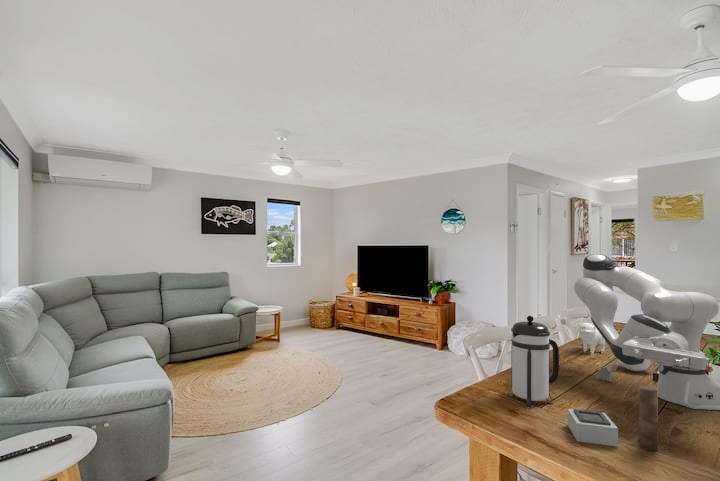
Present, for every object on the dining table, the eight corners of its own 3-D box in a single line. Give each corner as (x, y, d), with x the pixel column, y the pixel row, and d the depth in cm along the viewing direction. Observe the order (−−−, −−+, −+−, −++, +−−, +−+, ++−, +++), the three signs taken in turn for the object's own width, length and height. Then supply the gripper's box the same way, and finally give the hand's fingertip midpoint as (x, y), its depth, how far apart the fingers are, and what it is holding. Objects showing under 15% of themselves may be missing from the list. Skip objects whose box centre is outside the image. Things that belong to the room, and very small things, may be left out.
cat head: (648, 378, 158) (648, 349, 158) (612, 370, 167) (612, 343, 168) (656, 371, 167) (656, 343, 168) (622, 364, 177) (622, 338, 178)
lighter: (598, 379, 156) (598, 360, 156) (598, 378, 157) (598, 359, 157) (619, 383, 152) (619, 363, 152) (619, 381, 153) (619, 362, 153)
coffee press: (555, 412, 123) (555, 321, 124) (504, 401, 132) (504, 316, 132) (559, 395, 138) (559, 314, 138) (513, 386, 146) (513, 310, 147)
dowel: (653, 445, 103) (653, 386, 104) (661, 452, 100) (660, 392, 100) (637, 442, 104) (636, 385, 105) (643, 450, 101) (643, 390, 101)
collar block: (604, 429, 112) (604, 410, 112) (618, 446, 102) (617, 426, 102) (567, 425, 115) (567, 406, 115) (577, 441, 105) (577, 421, 105)
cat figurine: (586, 346, 209) (586, 316, 210) (608, 350, 202) (608, 319, 202) (573, 355, 192) (573, 322, 192) (596, 359, 184) (596, 325, 184)
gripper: (710, 369, 112) (705, 380, 103) (628, 353, 127) (617, 361, 118) (710, 348, 112) (705, 357, 103) (628, 335, 127) (617, 342, 118)
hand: (657, 359), depth 111 cm, fingers open, 8 cm apart
